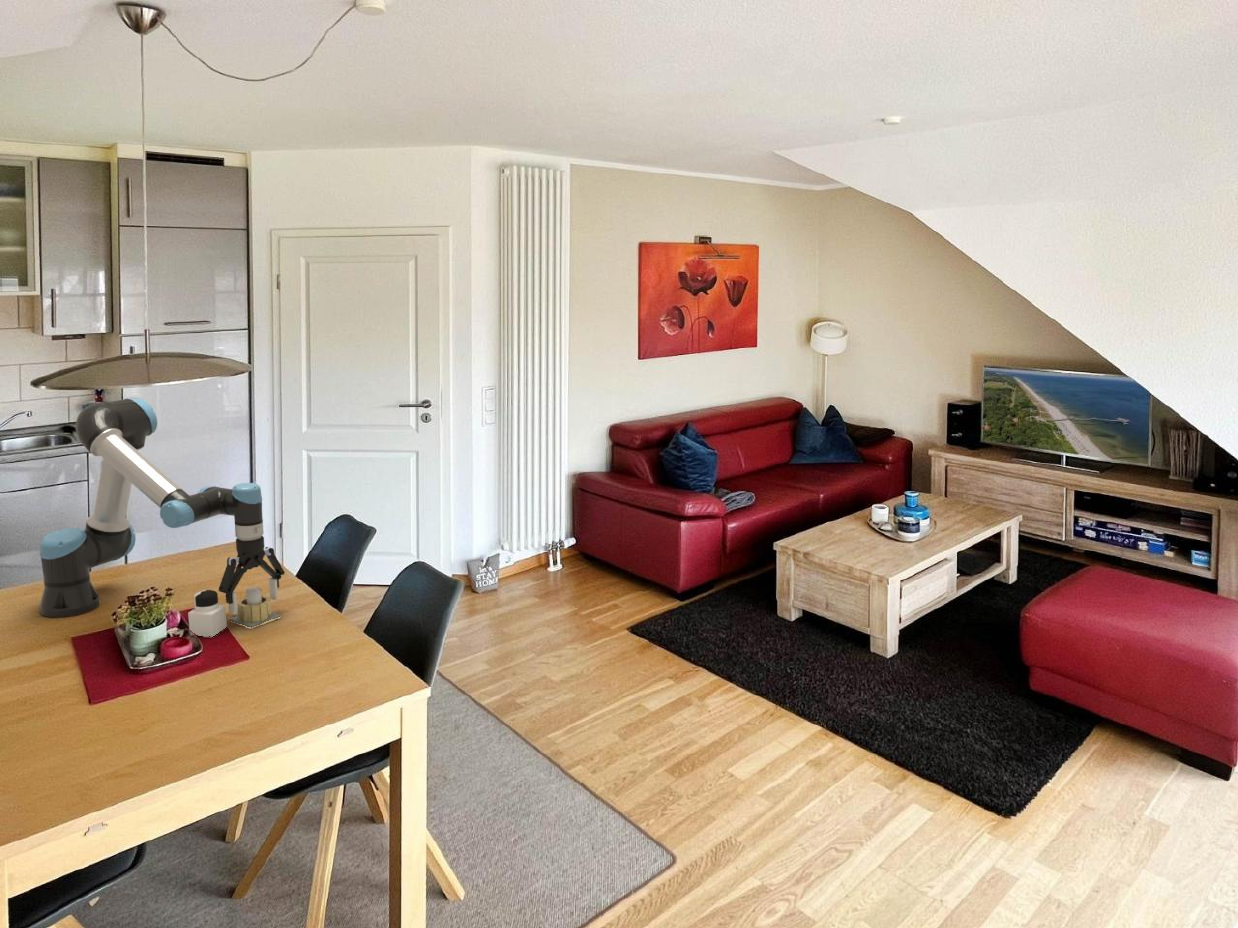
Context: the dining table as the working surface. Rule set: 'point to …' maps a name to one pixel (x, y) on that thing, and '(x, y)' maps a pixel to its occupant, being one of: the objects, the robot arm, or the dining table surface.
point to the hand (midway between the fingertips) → (254, 606)
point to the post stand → (253, 599)
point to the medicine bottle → (207, 614)
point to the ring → (254, 610)
